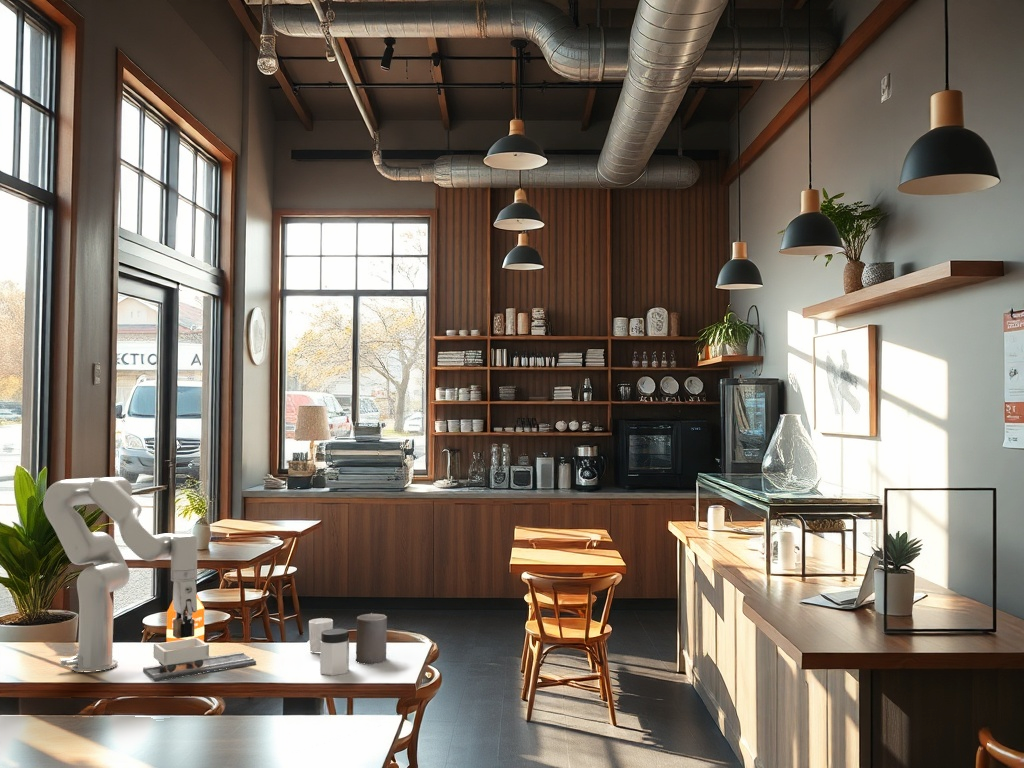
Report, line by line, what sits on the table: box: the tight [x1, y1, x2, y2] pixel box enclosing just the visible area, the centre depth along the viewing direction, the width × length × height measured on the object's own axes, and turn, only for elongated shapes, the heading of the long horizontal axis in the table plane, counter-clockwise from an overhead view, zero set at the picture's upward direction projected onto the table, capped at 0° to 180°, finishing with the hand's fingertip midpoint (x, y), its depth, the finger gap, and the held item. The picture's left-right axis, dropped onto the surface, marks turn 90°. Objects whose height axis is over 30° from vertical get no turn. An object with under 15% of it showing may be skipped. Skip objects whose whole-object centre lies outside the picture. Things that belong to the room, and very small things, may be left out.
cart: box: [153, 638, 210, 672], centre depth 253 cm, size 13×12×6 cm
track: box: [142, 651, 257, 682], centre depth 257 cm, size 30×14×1 cm, turn 127°
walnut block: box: [173, 618, 195, 639], centre depth 254 cm, size 5×5×5 cm
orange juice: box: [166, 594, 205, 642], centre depth 274 cm, size 8×9×20 cm
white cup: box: [308, 617, 334, 653], centre depth 276 cm, size 8×8×10 cm
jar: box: [319, 628, 350, 677], centre depth 252 cm, size 9×8×12 cm
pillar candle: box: [355, 612, 388, 665], centre depth 265 cm, size 10×10×15 cm
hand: (183, 634), depth 254 cm, fingers closed on walnut block, 5 cm apart
